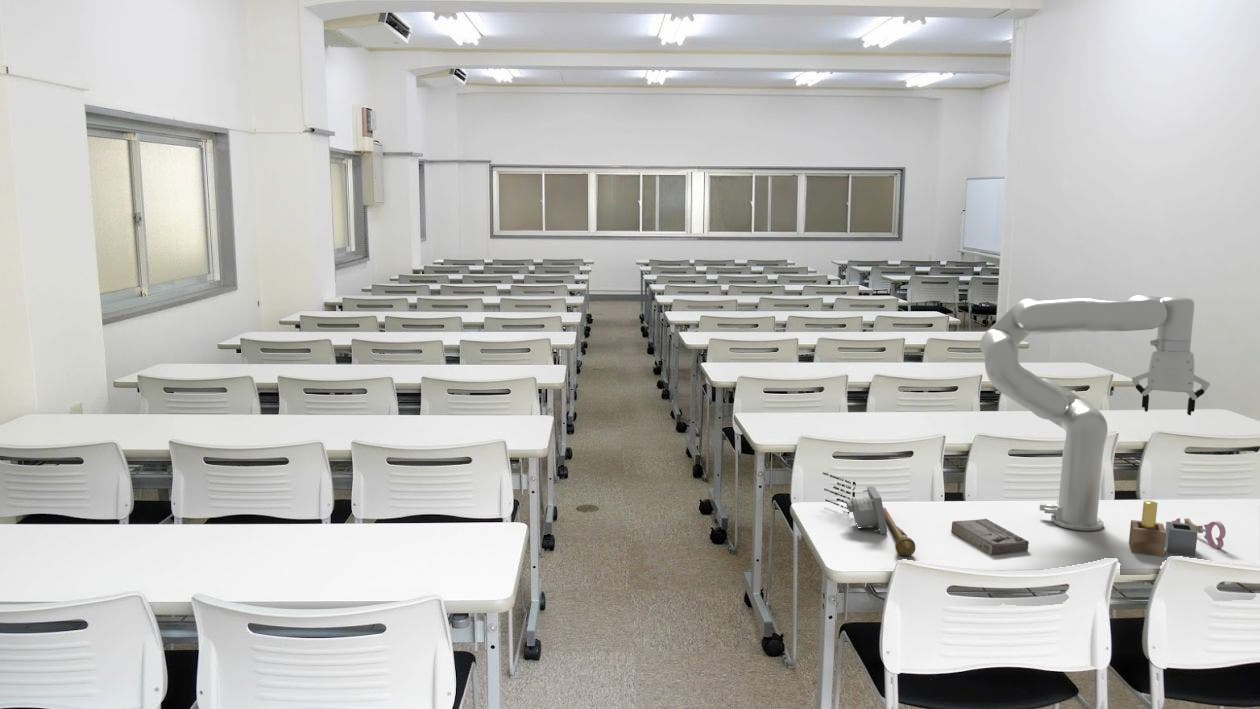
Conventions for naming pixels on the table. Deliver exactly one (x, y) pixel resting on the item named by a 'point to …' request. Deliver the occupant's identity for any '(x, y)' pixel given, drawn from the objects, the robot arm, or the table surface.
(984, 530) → the box
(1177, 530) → the socket block
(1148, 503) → the brass bar
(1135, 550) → the brown open box
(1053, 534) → the table surface
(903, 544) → the brown rod with knob
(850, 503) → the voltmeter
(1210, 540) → the decorative key
